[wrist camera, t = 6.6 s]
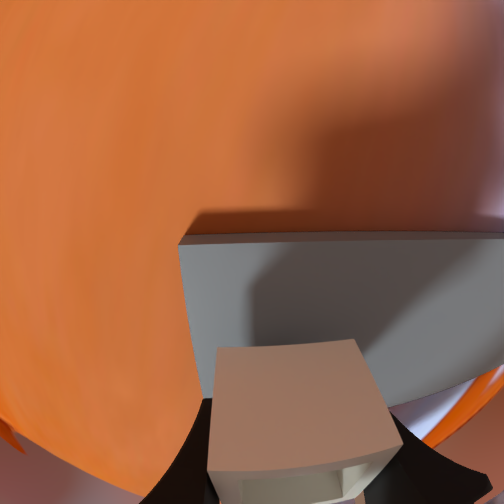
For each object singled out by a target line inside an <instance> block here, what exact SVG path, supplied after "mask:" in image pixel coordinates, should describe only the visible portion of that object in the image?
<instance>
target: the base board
mask: <svg viewBox="0 0 504 504" xmlns="http://www.w3.org/2000/svg"><path fill="white" fill-rule="evenodd" d="M178 251H179V259H180V267H181V275H182V282H183V289H184V296H185V303H186V309H187V315H188V321H189V327H190V333H191V339H192V344H193V350H194V355H195V360H196V365H197V370H198V375H199V380H200V385H201V389H202V394H203V398H213V387H214V376H215V365H216V355H217V347H258V346H279V345H295V344H308V343H319V342H329V341H339V340H347V339H354V340H355V342H356V344H357V346H358V348H359V350H360V352H361V354H362V356H363V358H364V360H365V362H366V364H367V366H368V368H369V370H370V372H371V374H372V376H373V378H374V380H375V382H376V384H377V386H378V388H379V391H380V393H381V395H382V397H383V399H384V401H385V403H386V406H387V408H388V407H392V406H396V405H399V404H403V403H406V402H410V401H413V400H416V399H420V398H423V397H426V396H429V395H432V394H435V393H437V392H440V391H443V390H446V389H448V388H451V387H454V386H456V385H459V384H461V383H464V382H466V381H468V380H471V379H473V378H475V377H478V376H480V375H482V374H484V373H486V372H488V371H491V370H493V369H495V368H497V367H499V366H501V365H503V364H504V233H497V232H445V231H332V232H272V233H233V234H202V235H184V236H183V237H182V239H181V241H180V243H179V244H178Z"/></svg>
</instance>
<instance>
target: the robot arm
mask: <svg viewBox="0 0 504 504" xmlns="http://www.w3.org/2000/svg"><path fill="white" fill-rule="evenodd" d="M211 410H212V398H204V399H203V400H202V403H201V407H200V409H199V412H198V415H197V417H196V420H195V422H194V424H193V426H192V428H191V430H190V432H189V434H188V436H187V438H186V440H185V442H184V444H183V446H182V448H181V449H180V451H179V453H178V454H177V456H176V458H175V459H174V461H173V463H172V464H171V466H170V467H169V469H168V470H167V471H166V473H165V474H164V475H163V477H162V478H161V479H160V481H159V482H158V483H157V484H156V486H155V487H154V488H153V489H152V490H151V492H150V493H149V494H148V495H147V496H146V497H145V498H144V499H143V500H142V501H141V502H140V503H139V504H220V499H219V497H218V495H217V492H216V490H215V488H214V486H213V483H212V481H211V479H210V476H209V474H208V472H207V464H208V449H209V436H210V423H211ZM389 412H390V411H389ZM390 414H391V417H392V419H393V421H394V423H395V425H396V428H397V430H398V432H399V435H400V437H401V439H402V442H403V445H402V447H401V448H400V449H399V450H398V452H397V453H396V454H395V455H394V456H393V458H392V459H391V460H390V461H389V462H388V464H387V465H386V466H385V467H384V468H383V469H382V470H381V472H380V473H379V474H378V475H377V476H376V477H375V478H374V479H373V480H372V481H371V482H370V483H369V484H368V486H367V487H366V488H365V489H364V490H363V491H364V496H365V502H366V504H474V502H476V501H477V500H479V499H480V498H481V497H483V496H484V495H486V494H487V493H488V492H490V491H491V490H492V489H493V487H492V485H491V483H490V481H489V479H488V476H487V475H486V474H483V473H480V472H477V471H474V470H471V469H469V468H466V467H464V466H462V465H459V464H457V463H455V462H453V461H452V460H450V459H448V458H446V457H444V456H442V455H441V454H439V453H438V452H436V451H435V450H433V449H432V448H430V447H429V446H428V445H426V444H425V443H423V442H422V441H421V440H420V439H418V438H417V437H416V436H415V435H414V434H413V433H411V432H410V431H409V430H408V429H407V428H406V427H405V426H404V425H403V424H402V423H401V422H400V421H399V420H398V419H397V418H396V417H395V416H394V415H393V414H392V413H391V412H390ZM331 504H355V500H354V499H349V500H345V501H341V502H336V503H331ZM485 504H504V490H503V491H502V492H501V493H500V494H498V495H497V496H496V497H494V498H493V499H491V500H489V501H488V502H486V503H485Z"/></svg>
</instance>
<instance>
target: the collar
mask: <svg viewBox="0 0 504 504" xmlns="http://www.w3.org/2000/svg"><path fill="white" fill-rule="evenodd" d="M402 445H403V442H402V439H401V437H400V435H399V432H398V430H397V428H396V425H395V423H394V421H393V419H392V417H391V414H390V412H389V410H388V408H387V406H386V403H385V401H384V399H383V397H382V395H381V393H380V391H379V388H378V386H377V384H376V382H375V380H374V378H373V376H372V374H371V372H370V370H369V368H368V366H367V364H366V362H365V360H364V358H363V356H362V354H361V352H360V350H359V348H358V346H357V344H356V342H355V340H354V339H347V340H339V341H329V342H319V343H308V344H295V345H279V346H258V347H217V355H216V365H215V376H214V387H213V398H212V410H211V423H210V436H209V449H208V464H207V472H208V474H209V476H210V479H211V481H212V483H213V486H214V488H215V490H216V492H217V495H218V497H219V499H220V501H221V503H222V504H331V503H336V502H341V501H345V500H349V499H354V498H355V497H356V496H357V495H359V494H360V492H362V491H363V490H364V489H365V488H366V487H367V486H368V484H369V483H370V482H371V481H372V480H373V479H374V478H375V477H376V476H377V475H378V474H379V473H380V472H381V470H382V469H383V468H384V467H385V466H386V465H387V464H388V462H389V461H390V460H391V459H392V458H393V456H394V455H395V454H396V453H397V452H398V450H399V449H400V448H401V447H402Z"/></svg>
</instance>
